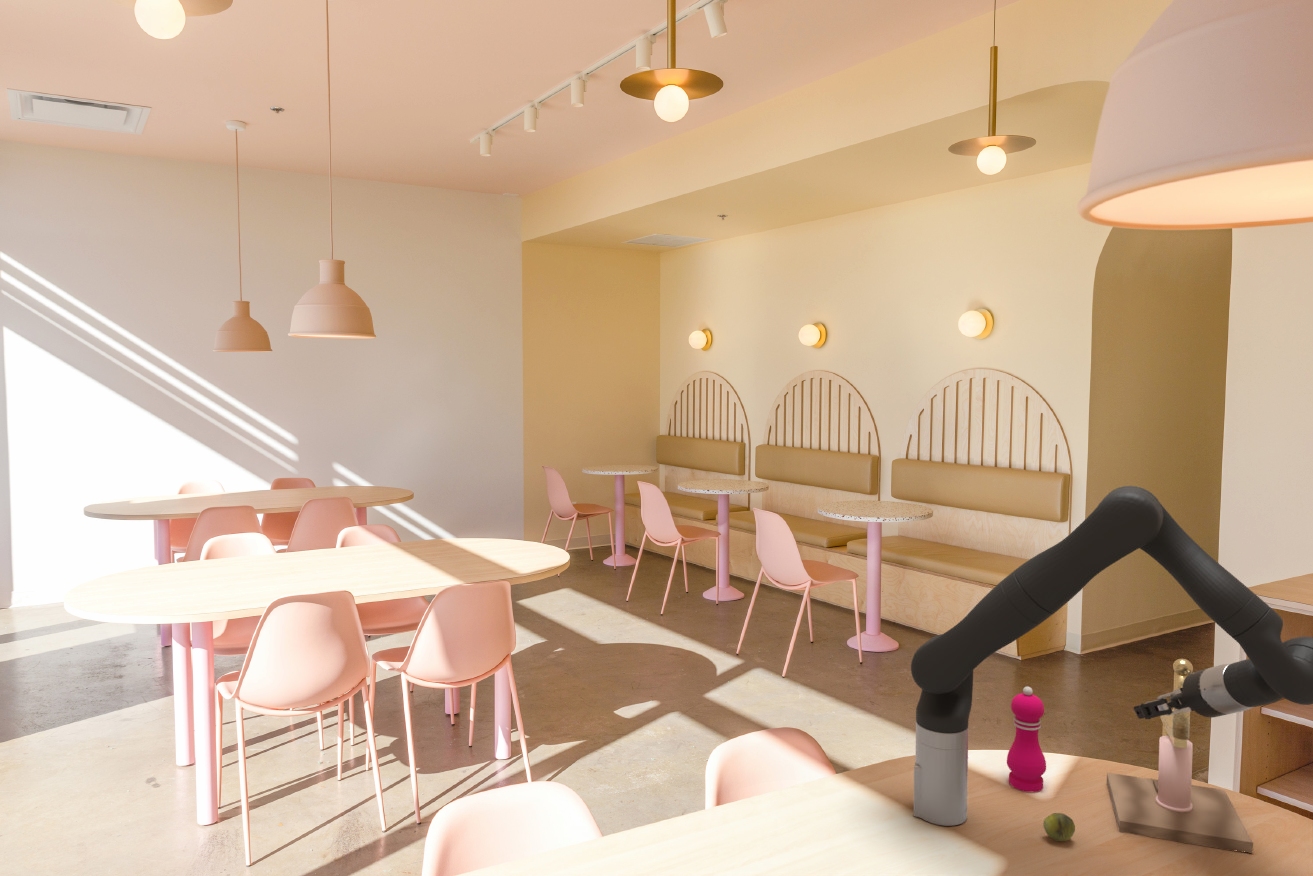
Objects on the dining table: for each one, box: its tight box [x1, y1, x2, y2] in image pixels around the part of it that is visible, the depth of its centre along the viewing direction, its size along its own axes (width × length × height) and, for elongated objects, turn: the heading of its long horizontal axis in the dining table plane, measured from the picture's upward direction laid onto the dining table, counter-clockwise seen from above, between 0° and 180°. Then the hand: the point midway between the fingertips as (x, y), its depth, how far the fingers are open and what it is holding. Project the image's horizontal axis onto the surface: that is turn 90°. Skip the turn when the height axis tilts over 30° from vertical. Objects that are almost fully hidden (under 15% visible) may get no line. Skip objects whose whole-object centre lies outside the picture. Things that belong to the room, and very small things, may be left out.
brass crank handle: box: [1159, 658, 1194, 748], centre depth 158 cm, size 16×3×27 cm, turn 158°
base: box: [1106, 772, 1254, 854], centre depth 157 cm, size 20×20×3 cm
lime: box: [1043, 812, 1076, 842], centre depth 149 cm, size 4×5×5 cm
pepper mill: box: [1006, 686, 1047, 793], centre depth 168 cm, size 7×7×20 cm
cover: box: [1156, 736, 1194, 813], centre depth 156 cm, size 6×6×12 cm
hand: (1155, 706), depth 154 cm, fingers open, 8 cm apart
